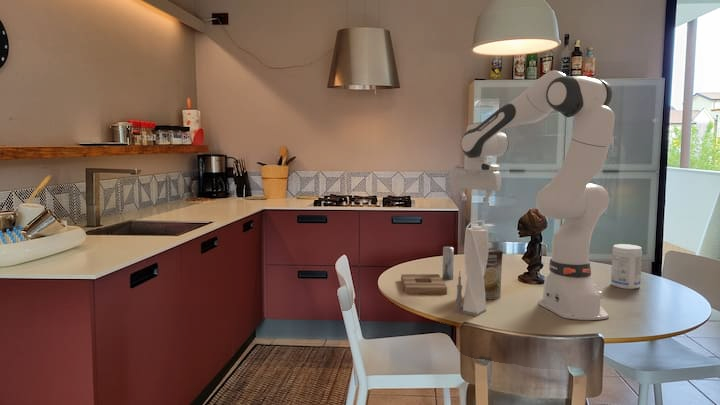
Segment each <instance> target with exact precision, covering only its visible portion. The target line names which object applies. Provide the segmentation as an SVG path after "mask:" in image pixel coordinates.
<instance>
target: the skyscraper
mask: <svg viewBox="0 0 720 405" xmlns="http://www.w3.org/2000/svg"><path fill="white" fill-rule="evenodd" d="M478 222H479V223H482V225H481V226H480V225H473V224H475V223H478ZM485 222H486V221H485V220H483V219H477V220H472V221H471V222H469V223H468V224H467V226H466V228H465V235H464V236H465V237H464V246H463V248H464V249H463V255H464V256H463V258H464V259H463V260H464V269H465V275H466V281H465V289H464V296H463V297H462V295H463V294H462V289H463V285H462V281H461V280H462V276H461V272H462V271H460V270H459V272H458V273H459V274H458V283H457V284H456V290H457V292H456V299H455V301H456V305H455V306H456V307H455V309H454V313H459V314H463V315H467V316H472V317H477V316H479V315H481V314H483V313H486V311H487V299H486V300H485V287H484V278H483V277H484V273H485V270H486V265H487V260H488V250H489V247H490V246H489V240H490V239H489V228H487V227H484V226H485ZM471 225H472V226H471ZM470 226H471V227H470ZM462 298H463V299H462ZM462 303H463V304H462ZM462 305H463V306H462Z"/></svg>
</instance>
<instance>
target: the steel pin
mask: <svg viewBox="0 0 720 405" xmlns="http://www.w3.org/2000/svg"><path fill="white" fill-rule="evenodd" d="M454 252H455V247H454V246H443V248H442V277H441V279H442V280H445V281H448V280H449V281H451V280H454V261H455V260H454V258H455V255H454V254H455V253H454Z"/></svg>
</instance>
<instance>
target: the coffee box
mask: <svg viewBox="0 0 720 405" xmlns="http://www.w3.org/2000/svg"><path fill="white" fill-rule="evenodd" d="M502 263H503V251H501V250H499V249H496V248H492V247H490V248H489V250H488V260H487V265H486V270H485V273H484V277H483V278H484V287H485V300H486V301H487V300H494V299H495V300H496V299H501V292H502V291H501V288H502V268H503V266H502V265H503V264H502Z"/></svg>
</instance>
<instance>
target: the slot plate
mask: <svg viewBox="0 0 720 405" xmlns="http://www.w3.org/2000/svg"><path fill="white" fill-rule="evenodd" d="M400 279H401V283H402V286H403V289H404V292H405V294H406V295H448V287H447V284H446V283H445V282H444V279H443V278H442V277H441V276H440V274H439V273H413V274H412V273H409V274H408V273H401V278H400Z"/></svg>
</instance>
